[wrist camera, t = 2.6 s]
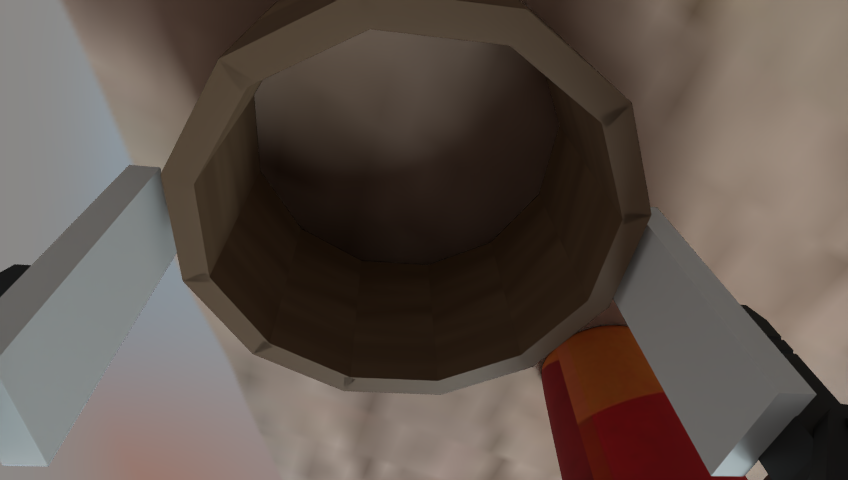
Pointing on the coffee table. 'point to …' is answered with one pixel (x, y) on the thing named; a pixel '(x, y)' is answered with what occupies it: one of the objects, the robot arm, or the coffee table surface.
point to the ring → (395, 282)
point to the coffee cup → (615, 413)
